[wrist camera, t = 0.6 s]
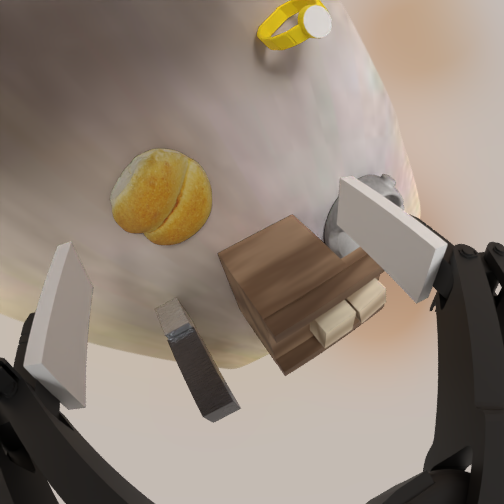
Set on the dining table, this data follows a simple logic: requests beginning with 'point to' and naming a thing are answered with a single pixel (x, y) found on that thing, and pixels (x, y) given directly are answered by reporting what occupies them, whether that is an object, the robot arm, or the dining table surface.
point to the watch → (309, 25)
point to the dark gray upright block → (196, 363)
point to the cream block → (367, 299)
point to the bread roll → (162, 197)
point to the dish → (333, 233)
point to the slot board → (292, 286)
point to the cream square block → (333, 323)
